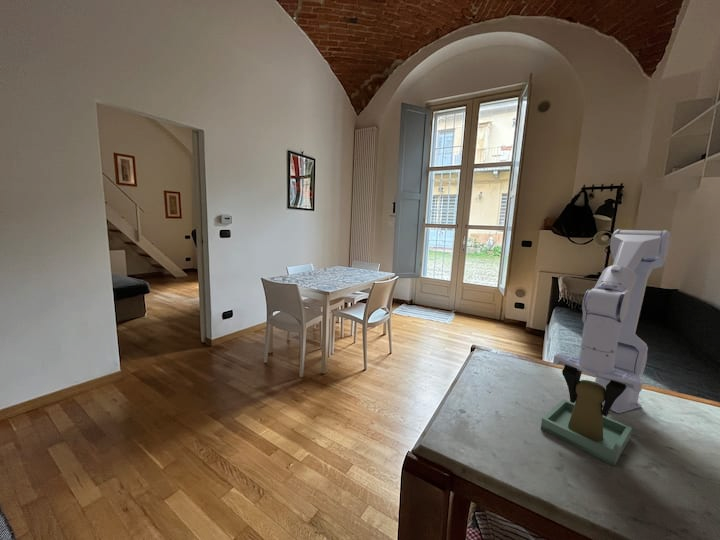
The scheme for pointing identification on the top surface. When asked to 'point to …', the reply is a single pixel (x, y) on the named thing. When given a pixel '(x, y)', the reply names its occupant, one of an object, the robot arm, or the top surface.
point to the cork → (588, 410)
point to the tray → (605, 450)
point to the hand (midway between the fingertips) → (588, 407)
